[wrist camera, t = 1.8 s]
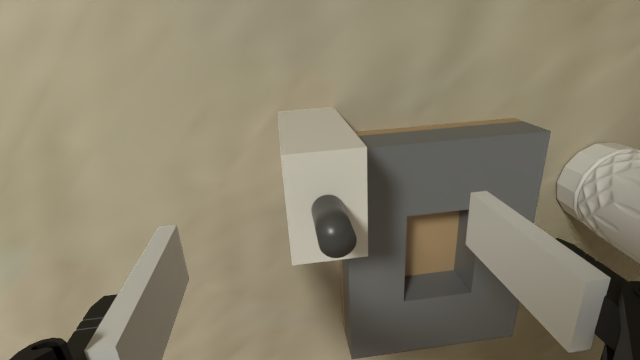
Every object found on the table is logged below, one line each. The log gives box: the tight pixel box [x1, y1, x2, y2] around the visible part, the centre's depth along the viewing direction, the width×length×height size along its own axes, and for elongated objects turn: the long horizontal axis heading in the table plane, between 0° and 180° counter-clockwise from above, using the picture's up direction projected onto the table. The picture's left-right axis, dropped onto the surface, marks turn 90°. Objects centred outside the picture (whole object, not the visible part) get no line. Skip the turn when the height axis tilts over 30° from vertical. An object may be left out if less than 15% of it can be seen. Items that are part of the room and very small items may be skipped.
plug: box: [278, 107, 368, 265], centre depth 21 cm, size 6×4×13 cm, turn 4°
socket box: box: [340, 118, 551, 359], centre depth 29 cm, size 18×14×4 cm
